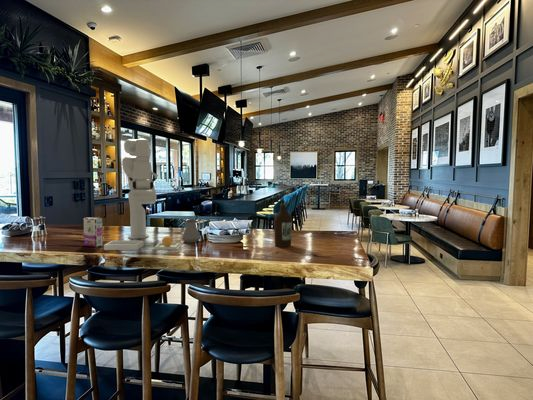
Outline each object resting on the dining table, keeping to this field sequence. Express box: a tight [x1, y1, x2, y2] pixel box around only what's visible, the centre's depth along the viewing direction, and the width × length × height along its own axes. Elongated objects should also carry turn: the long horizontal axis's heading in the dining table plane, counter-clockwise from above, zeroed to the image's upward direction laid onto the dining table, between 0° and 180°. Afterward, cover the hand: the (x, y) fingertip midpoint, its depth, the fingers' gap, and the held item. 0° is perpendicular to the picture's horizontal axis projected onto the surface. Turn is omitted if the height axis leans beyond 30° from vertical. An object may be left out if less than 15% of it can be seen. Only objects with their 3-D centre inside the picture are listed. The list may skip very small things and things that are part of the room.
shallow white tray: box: [103, 239, 145, 251], centre depth 197 cm, size 12×18×3 cm, turn 94°
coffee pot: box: [181, 214, 201, 244], centre depth 220 cm, size 21×12×15 cm, turn 176°
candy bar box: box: [82, 216, 104, 248], centre depth 202 cm, size 11×5×16 cm, turn 62°
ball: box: [161, 235, 174, 247], centre depth 198 cm, size 6×6×6 cm
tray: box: [151, 242, 182, 251], centre depth 199 cm, size 13×14×1 cm
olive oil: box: [273, 203, 293, 249], centre depth 202 cm, size 11×11×25 cm
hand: (143, 188), depth 206 cm, fingers open, 9 cm apart
